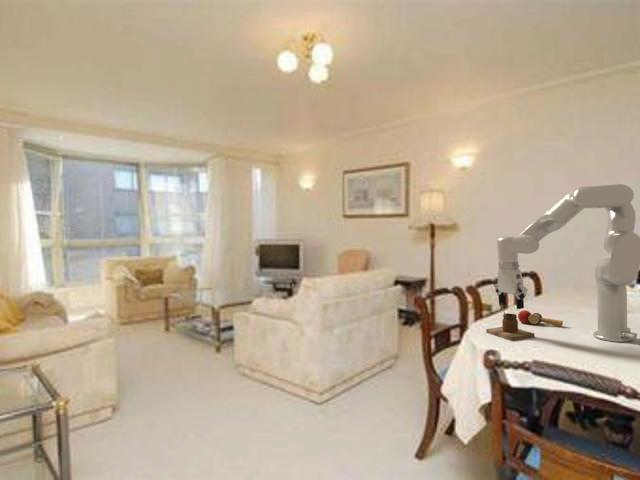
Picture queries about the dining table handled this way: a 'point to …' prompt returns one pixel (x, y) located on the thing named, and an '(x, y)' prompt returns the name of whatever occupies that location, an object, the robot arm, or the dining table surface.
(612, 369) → the dining table surface
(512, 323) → the utensil holder
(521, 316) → the kendama
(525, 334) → the board
